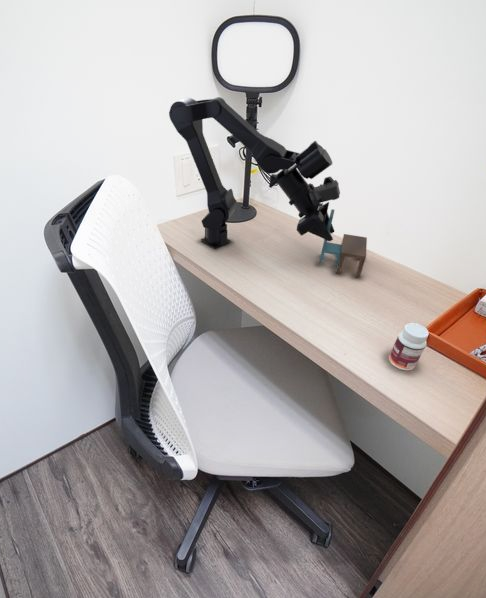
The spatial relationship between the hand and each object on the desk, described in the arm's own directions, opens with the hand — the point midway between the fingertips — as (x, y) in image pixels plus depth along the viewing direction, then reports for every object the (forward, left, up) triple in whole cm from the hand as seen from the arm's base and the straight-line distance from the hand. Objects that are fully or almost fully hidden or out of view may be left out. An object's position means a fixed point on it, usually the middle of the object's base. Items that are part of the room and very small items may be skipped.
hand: (332, 236), depth 95 cm
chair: (+1, 0, -7) cm, 7 cm away
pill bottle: (+31, -21, -8) cm, 39 cm away
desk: (+5, +3, -8) cm, 10 cm away
